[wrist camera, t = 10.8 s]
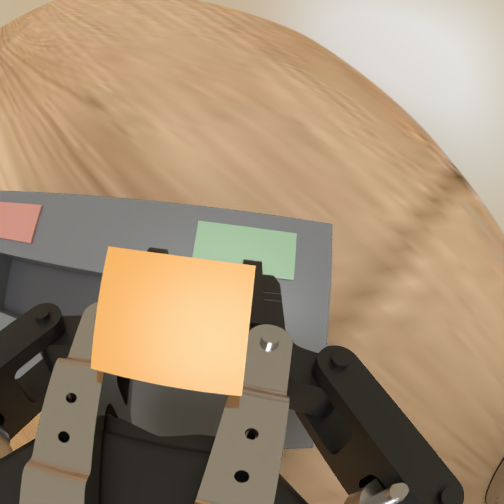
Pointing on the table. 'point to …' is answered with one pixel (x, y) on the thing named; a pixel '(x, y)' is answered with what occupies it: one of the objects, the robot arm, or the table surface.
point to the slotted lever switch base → (177, 243)
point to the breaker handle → (173, 320)
